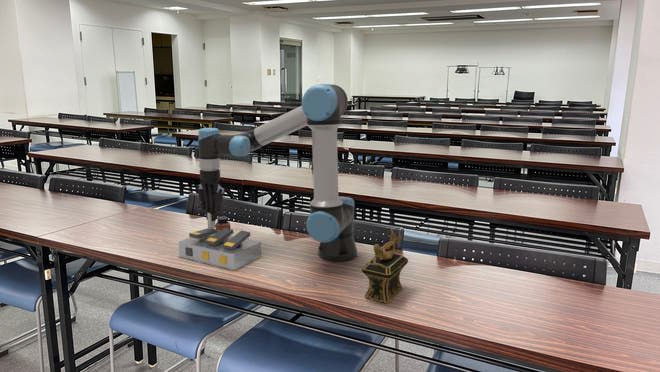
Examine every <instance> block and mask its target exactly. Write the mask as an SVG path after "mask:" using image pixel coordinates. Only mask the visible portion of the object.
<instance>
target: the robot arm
mask: <svg viewBox="0 0 660 372" xmlns="http://www.w3.org/2000/svg"><path fill="white" fill-rule="evenodd" d="M348 104H349V101H348V95H347V93H346V91H345V90H344V89H343V88H342V87H341V86H339V85H337V84H332V83H331V84H329V83H328V84H326V83H319V84H315V85H312V86H310V87H309V88H308V89H306V91H305V92H304V93H303V96H302V99H301V105H300V106H298V107H296V108H294V109H292V110H290V111H287V112H285V113H284V114H282V115H279V116H278V117H275V118H273V119H271V120H269V121H267V122H265V123H263V124H261V125H258V126H257V127H255V128H253V129H251V130H248V131H246V132H243V133H236V134H221V133H220V130H219V128H216V127H203V128H199V130H198V140H197V141H198V153H199V154H198V159H199V160H198V161H199V165H198V166H199V169H200V170H199V179H200V184H198V185H195V189H196V191H197V193H198V199H199V203H200V208H201V211H205V213H206V214H205V215H206V216H205V217H206V220H207V228H208V229H210V230H211V229H215V228H216V227H215V224H216V221H217V213H219V212H220V211H221V209H222V205H223V199H224V194H225V192H226V188H225V187H222V186H221V183H220V180H221V169H220V168H221V165H220V163H221V162H220V160H221V159H220V157H221V156H220V155H222V156H234V157H247V156H248V154H249V153H250V152H255V151H257V150H259V149H260V148H262V147H263V146H265V145H268V144H270V143H272V142H275V141H276V140H279V139H281V138H283V137H284V136H288V135H289V134H292V133H294V132H296V131H298V130H301V129H303V128H305V127H308V128H309V129H310V130H311V143H312V145H311V147H312V171H313V172H312V173H313V174H312V175H313V178H312V179H313V199H312V200H311V201H310V203H309V207H310V208H309V211H310V212H309V213H310V215H309V216H308V218H307V220H306V223H305V226H306V231H307V233H308V235H309V236H310V237H311V238H312V239H313V240H314V241H316V242H319V245H318V248H317V249H318V250H317V255H318V257H320V258H321V259H322V260H326V261H331V262H347V261H346V260H348V261H351V260H353V258H354V259H356V257H357V256H358V248H357V245H356V241H355V239H354V224H355V223H354V219H355V200H354V198H352V197H348V196H339V166H338V165H339V163H338V157H339V156H338V129H339V127H340V126H341V125H342V114H344V112H345V111H346V109H347V108H348Z"/></svg>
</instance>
